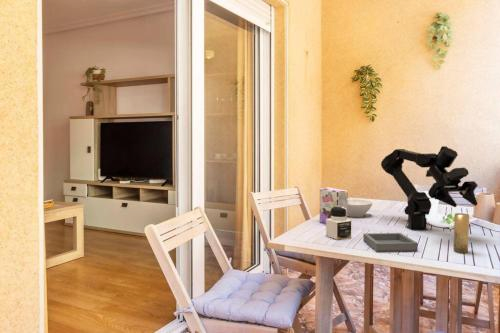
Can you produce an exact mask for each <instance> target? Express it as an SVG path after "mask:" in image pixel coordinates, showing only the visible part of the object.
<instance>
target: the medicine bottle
mask: <svg viewBox="0 0 500 333" xmlns="http://www.w3.org/2000/svg"><path fill="white" fill-rule="evenodd" d="M346 210H347V209H346V208H344V207H333V208H331V218H329V219H326V224H325V226H326V227H325V236H326V237H328V238H330V237H331V239H333V238H334V239H333V240H336V239H337V241H340V240H346V239H351V238H352V220H351V219H349V218H347V219H346ZM339 239H340V240H339Z"/></svg>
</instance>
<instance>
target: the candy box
mask: <svg viewBox="0 0 500 333" xmlns="http://www.w3.org/2000/svg"><path fill="white" fill-rule="evenodd" d="M348 192H349V191H348V190H345V189H340V188H334V187H330V186H329V187H327V186H326V187H319V223H321V224H324V225H326V219H329V218H331V208H333V207H344V208H346V209H347V200H348ZM346 219H348V215H347V210H346Z"/></svg>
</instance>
